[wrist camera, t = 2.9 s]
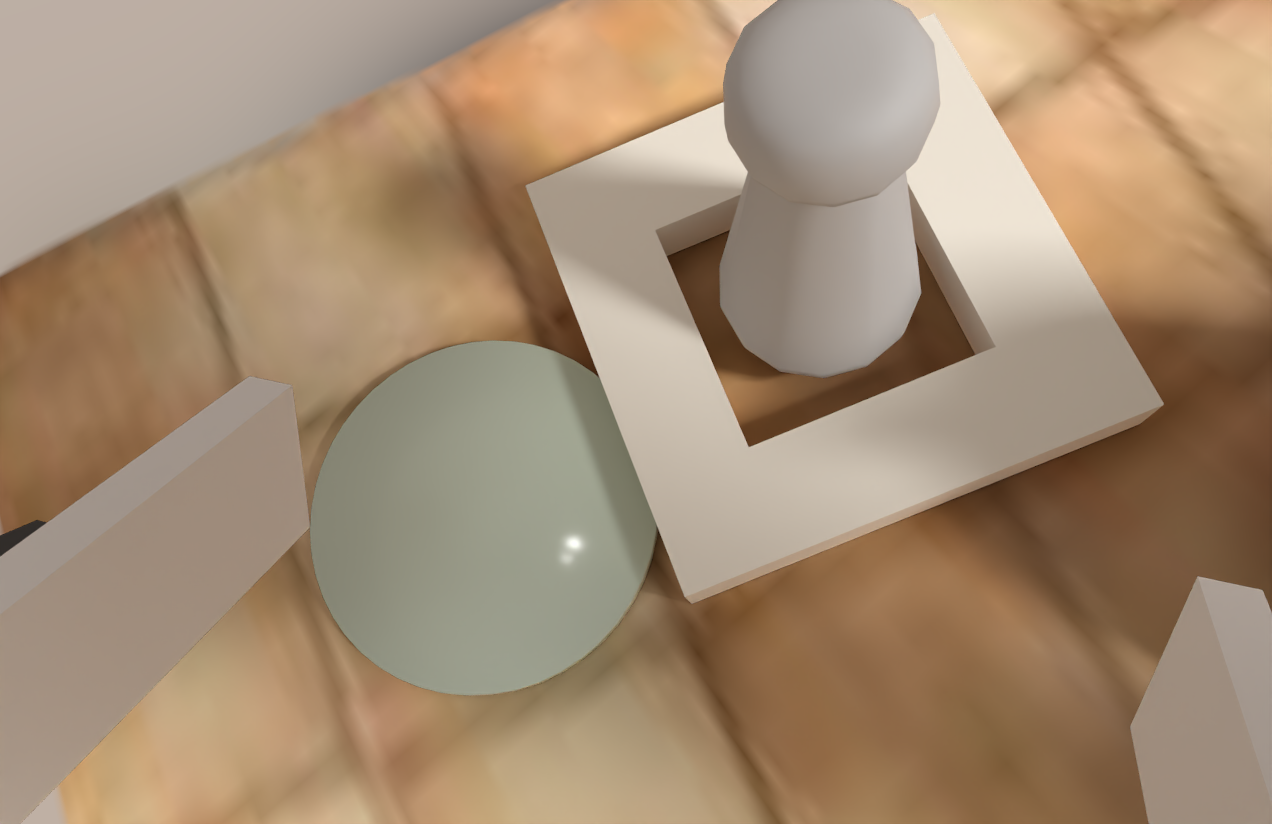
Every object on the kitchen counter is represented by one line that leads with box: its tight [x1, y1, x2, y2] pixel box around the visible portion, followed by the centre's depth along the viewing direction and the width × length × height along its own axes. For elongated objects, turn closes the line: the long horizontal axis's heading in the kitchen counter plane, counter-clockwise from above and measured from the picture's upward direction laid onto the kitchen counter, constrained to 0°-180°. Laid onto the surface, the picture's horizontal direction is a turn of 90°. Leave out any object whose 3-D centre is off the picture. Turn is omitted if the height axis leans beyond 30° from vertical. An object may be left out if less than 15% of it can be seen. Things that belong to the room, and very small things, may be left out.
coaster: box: [310, 341, 658, 695], centre depth 31 cm, size 11×11×1 cm
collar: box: [525, 13, 1164, 604], centre depth 30 cm, size 14×14×2 cm
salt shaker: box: [719, 0, 940, 378], centre depth 25 cm, size 6×6×13 cm
